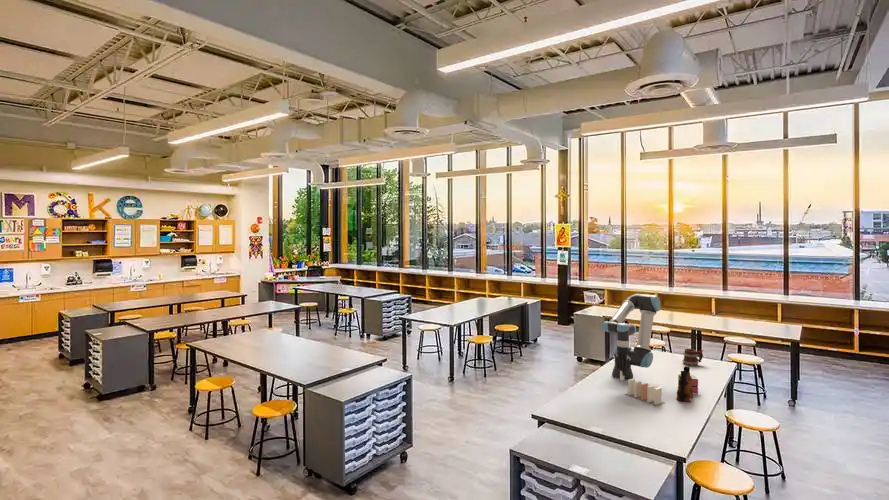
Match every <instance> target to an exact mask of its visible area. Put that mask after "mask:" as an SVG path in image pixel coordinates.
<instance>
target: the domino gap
mask: <svg viewBox="0 0 889 500" xmlns="http://www.w3.org/2000/svg"><path fill="white" fill-rule="evenodd" d="M648 386H649V384H648V383H647V382H644V383H641V399H642V400H644V399H647V387H648Z"/></svg>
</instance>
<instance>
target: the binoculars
mask: <svg viewBox="0 0 889 500" xmlns="http://www.w3.org/2000/svg"><path fill="white" fill-rule="evenodd" d="M690 367H691V366H687V365H686V366H684V367H683V370H680V374H681V376H680V379H679V380H677V381H678V382H679V383H677V391H676V394H677V395H676V398H675V399H676V401H677V402H679V403H685V404H686V403H688V404H689V403H691V399H693V398H694V393H693V392H692V391H693V389H692V377H691V376H690V375H691V372H690Z"/></svg>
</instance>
